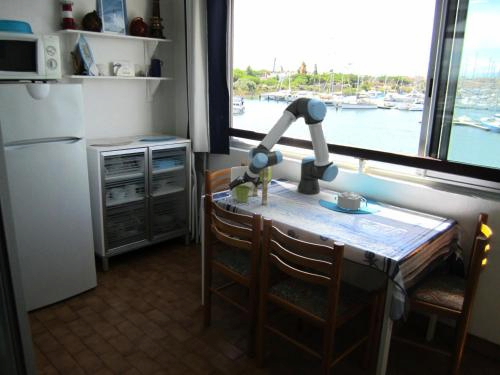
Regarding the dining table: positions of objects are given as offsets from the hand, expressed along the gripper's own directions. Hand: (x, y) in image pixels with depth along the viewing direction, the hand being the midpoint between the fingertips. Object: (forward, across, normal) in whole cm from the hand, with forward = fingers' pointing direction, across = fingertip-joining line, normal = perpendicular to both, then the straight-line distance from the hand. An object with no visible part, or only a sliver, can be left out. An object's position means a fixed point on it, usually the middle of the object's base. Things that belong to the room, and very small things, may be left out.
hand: (240, 191), depth 249 cm
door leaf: (+6, +3, 0) cm, 7 cm away
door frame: (+1, +11, -7) cm, 13 cm away
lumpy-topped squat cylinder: (-22, +53, -31) cm, 65 cm away
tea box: (+20, +25, +12) cm, 34 cm away
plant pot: (+2, 0, -6) cm, 6 cm away
